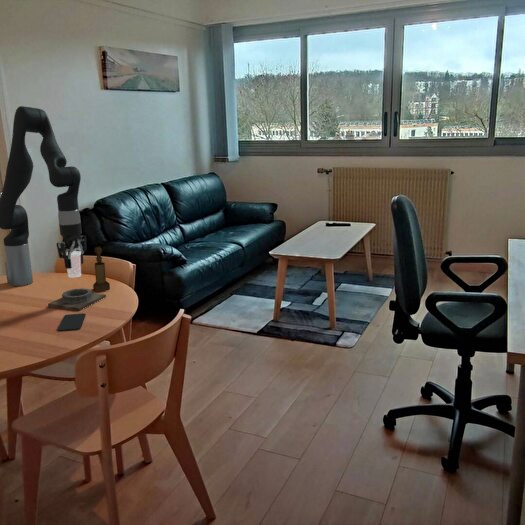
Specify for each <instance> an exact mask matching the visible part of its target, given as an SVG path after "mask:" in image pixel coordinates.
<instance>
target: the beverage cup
mask: <svg viewBox="0 0 525 525" xmlns="http://www.w3.org/2000/svg"><path fill="white" fill-rule="evenodd" d="M67 255H68V253H67ZM80 255H81V252H80V251H75V250H73V252H72V253H71V257H70V259H71V266H72V268H70V269H67V268H66V271H67V277H68V278H71V279H72V278H73V279H74V278H80V277H81V276H82V266H81V265H82V264H81V258H80Z"/></svg>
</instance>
